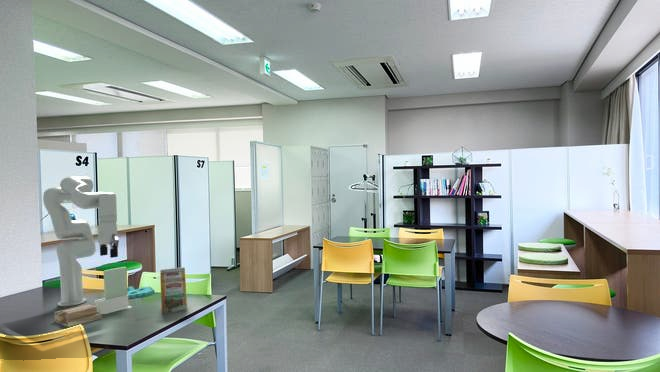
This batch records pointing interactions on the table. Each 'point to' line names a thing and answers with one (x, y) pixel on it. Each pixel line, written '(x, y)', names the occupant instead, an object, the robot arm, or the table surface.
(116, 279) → the sheet
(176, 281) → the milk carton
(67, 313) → the offcut upper
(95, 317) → the rack
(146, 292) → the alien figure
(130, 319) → the table surface
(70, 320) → the offcut lower
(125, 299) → the stand
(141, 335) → the table surface
